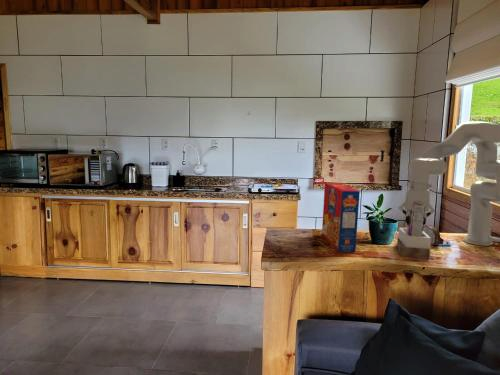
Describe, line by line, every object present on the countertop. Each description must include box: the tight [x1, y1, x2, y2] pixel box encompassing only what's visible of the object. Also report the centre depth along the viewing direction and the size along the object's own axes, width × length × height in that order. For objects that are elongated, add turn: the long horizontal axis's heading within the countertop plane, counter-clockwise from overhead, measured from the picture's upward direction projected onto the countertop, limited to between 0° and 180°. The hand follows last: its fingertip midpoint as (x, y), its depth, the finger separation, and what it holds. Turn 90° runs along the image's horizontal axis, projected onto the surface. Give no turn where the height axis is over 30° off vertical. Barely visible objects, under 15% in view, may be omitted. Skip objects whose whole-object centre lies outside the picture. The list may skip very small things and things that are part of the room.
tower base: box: [396, 237, 431, 260], centre depth 173 cm, size 12×18×4 cm, turn 162°
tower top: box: [397, 227, 431, 250], centre depth 173 cm, size 10×16×5 cm, turn 171°
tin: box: [423, 224, 441, 246], centre depth 188 cm, size 15×3×8 cm, turn 178°
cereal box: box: [321, 182, 361, 253], centre depth 182 cm, size 28×8×28 cm, turn 4°
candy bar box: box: [407, 203, 425, 237], centre depth 171 cm, size 11×5×16 cm, turn 166°
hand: (415, 224), depth 172 cm, fingers open, 5 cm apart
